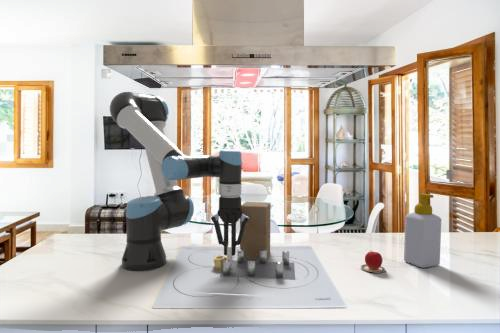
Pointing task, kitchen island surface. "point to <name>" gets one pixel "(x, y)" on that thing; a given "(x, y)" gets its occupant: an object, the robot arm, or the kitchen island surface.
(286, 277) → the grey flat plate
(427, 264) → the soap bottle
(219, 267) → the nut
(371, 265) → the apple
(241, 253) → the set of silver pegs
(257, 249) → the wooden block
